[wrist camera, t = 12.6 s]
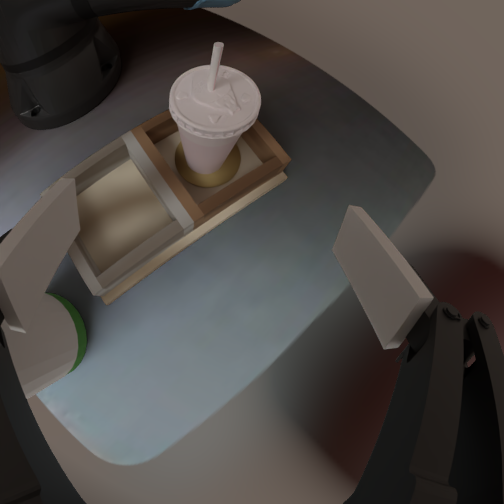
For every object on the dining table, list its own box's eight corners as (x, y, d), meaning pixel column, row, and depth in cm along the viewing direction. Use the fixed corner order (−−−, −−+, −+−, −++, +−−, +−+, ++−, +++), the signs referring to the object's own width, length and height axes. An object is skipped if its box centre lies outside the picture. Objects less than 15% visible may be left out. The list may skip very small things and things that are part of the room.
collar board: (51, 203, 24) (35, 189, 20) (218, 100, 30) (222, 78, 26) (108, 304, 24) (95, 305, 20) (284, 181, 30) (298, 164, 26)
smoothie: (207, 119, 28) (228, 10, 14) (251, 160, 28) (302, 61, 14) (158, 155, 26) (145, 47, 12) (203, 201, 26) (222, 108, 13)
